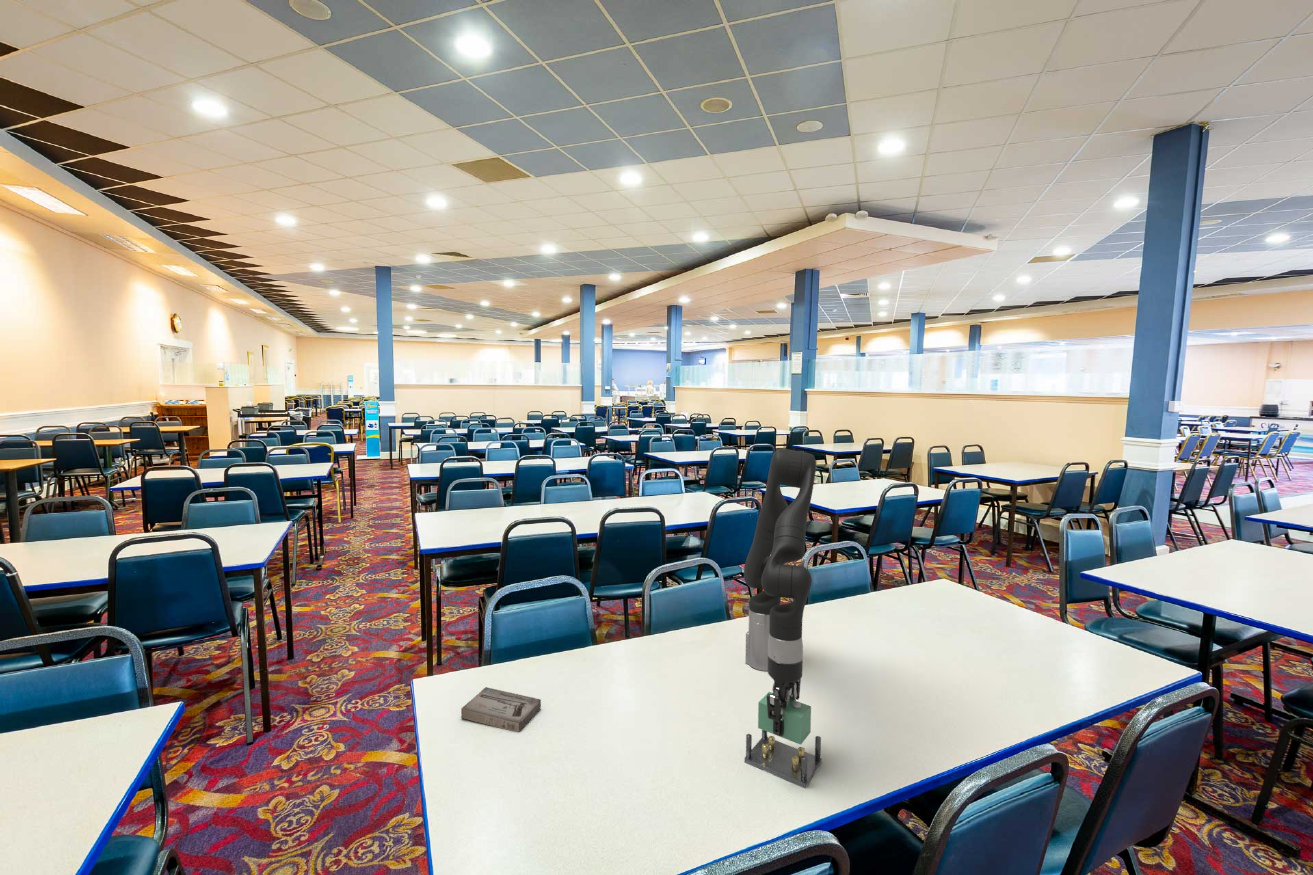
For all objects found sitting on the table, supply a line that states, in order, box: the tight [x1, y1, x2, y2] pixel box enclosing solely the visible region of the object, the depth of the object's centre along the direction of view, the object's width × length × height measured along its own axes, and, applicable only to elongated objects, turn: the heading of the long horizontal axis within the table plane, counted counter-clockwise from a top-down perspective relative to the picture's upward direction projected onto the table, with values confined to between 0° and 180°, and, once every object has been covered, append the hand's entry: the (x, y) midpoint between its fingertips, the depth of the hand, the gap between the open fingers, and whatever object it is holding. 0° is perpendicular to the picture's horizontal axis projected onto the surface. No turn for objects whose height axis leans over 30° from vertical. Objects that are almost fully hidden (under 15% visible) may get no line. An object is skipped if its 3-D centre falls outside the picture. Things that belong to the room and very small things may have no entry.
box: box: [460, 687, 542, 733], centre depth 141 cm, size 11×17×3 cm, turn 72°
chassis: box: [744, 729, 823, 789], centre depth 123 cm, size 14×10×6 cm
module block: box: [757, 691, 812, 746], centre depth 122 cm, size 10×6×7 cm, turn 53°
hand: (783, 727), depth 122 cm, fingers closed on module block, 5 cm apart
